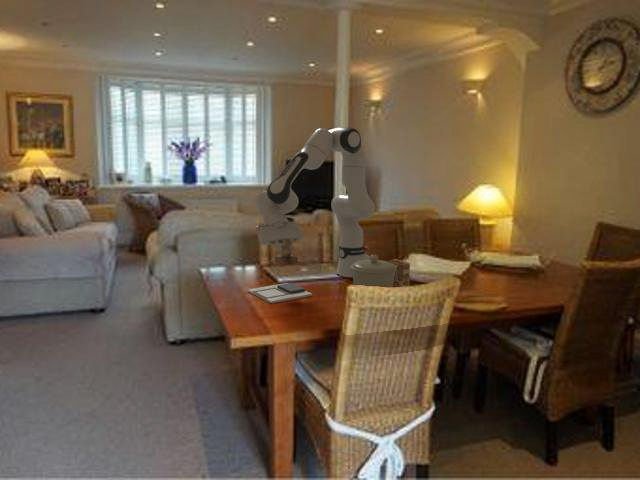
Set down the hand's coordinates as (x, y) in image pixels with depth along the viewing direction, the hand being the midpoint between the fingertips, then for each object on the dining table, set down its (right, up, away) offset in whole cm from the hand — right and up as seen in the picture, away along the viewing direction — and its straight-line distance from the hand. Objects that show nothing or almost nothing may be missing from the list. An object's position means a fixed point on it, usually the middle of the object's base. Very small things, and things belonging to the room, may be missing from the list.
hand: (287, 250), depth 224 cm
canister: (+35, -22, -13) cm, 43 cm away
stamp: (-1, -5, +2) cm, 6 cm away
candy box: (+47, -20, +2) cm, 51 cm away
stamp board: (-3, -19, +2) cm, 19 cm away
